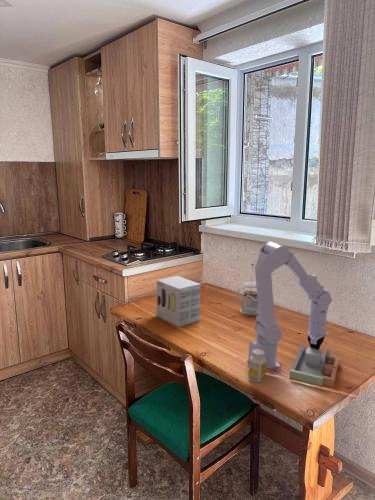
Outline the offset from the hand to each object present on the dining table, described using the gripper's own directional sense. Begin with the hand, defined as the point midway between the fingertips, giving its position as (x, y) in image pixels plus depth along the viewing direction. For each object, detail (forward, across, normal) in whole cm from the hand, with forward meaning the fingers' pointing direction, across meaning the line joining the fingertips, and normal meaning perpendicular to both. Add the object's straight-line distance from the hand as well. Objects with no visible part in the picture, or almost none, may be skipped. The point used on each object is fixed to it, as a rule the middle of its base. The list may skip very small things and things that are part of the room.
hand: (314, 354), depth 140 cm
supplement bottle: (+2, -24, +15) cm, 28 cm away
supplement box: (+2, +10, +63) cm, 64 cm away
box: (+2, -8, -2) cm, 8 cm away
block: (+1, -4, 0) cm, 4 cm away
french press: (+2, +36, +37) cm, 52 cm away
